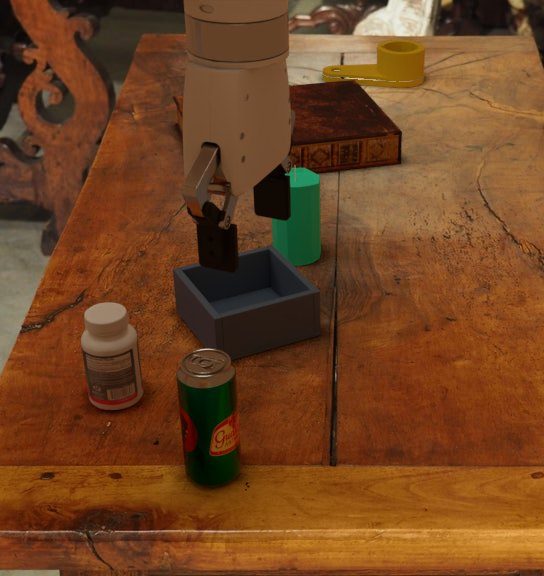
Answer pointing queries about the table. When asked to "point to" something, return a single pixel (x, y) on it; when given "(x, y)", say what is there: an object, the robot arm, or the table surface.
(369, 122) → the book
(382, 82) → the crank
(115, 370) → the pill bottle
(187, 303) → the bin
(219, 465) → the soda can
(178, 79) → the table surface
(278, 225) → the candle
